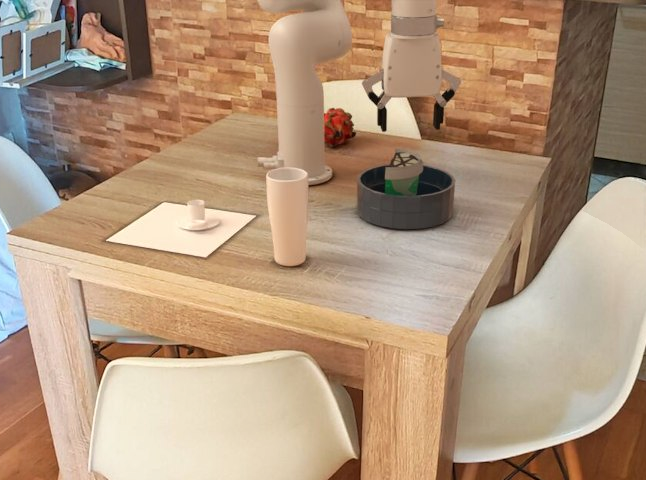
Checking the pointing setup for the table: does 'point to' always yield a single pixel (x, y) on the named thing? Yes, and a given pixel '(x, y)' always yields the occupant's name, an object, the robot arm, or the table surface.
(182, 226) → the teacup and saucer
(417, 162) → the food container
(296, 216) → the drinking glass
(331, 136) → the dragon fruit
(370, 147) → the table surface
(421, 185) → the bowl
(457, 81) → the robot arm
